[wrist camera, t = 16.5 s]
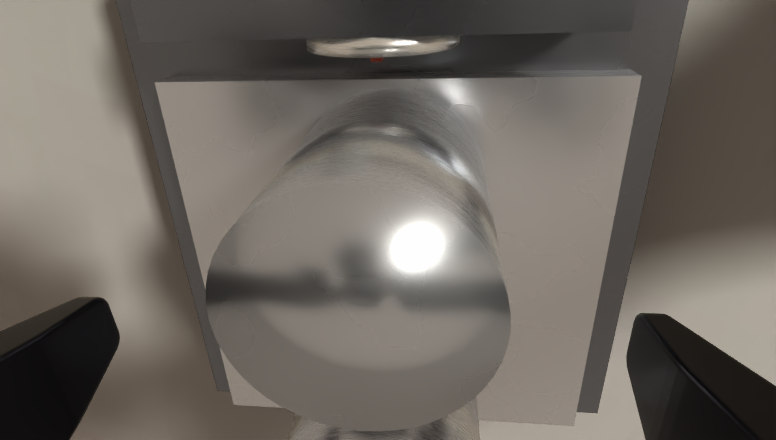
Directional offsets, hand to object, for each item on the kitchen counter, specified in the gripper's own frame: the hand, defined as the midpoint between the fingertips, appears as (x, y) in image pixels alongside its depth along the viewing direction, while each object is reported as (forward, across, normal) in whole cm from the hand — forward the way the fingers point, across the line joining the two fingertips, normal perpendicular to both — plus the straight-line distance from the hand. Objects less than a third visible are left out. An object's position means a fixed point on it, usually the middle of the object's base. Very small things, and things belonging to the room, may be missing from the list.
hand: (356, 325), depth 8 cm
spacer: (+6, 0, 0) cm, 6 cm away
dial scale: (+9, 0, +1) cm, 9 cm away
